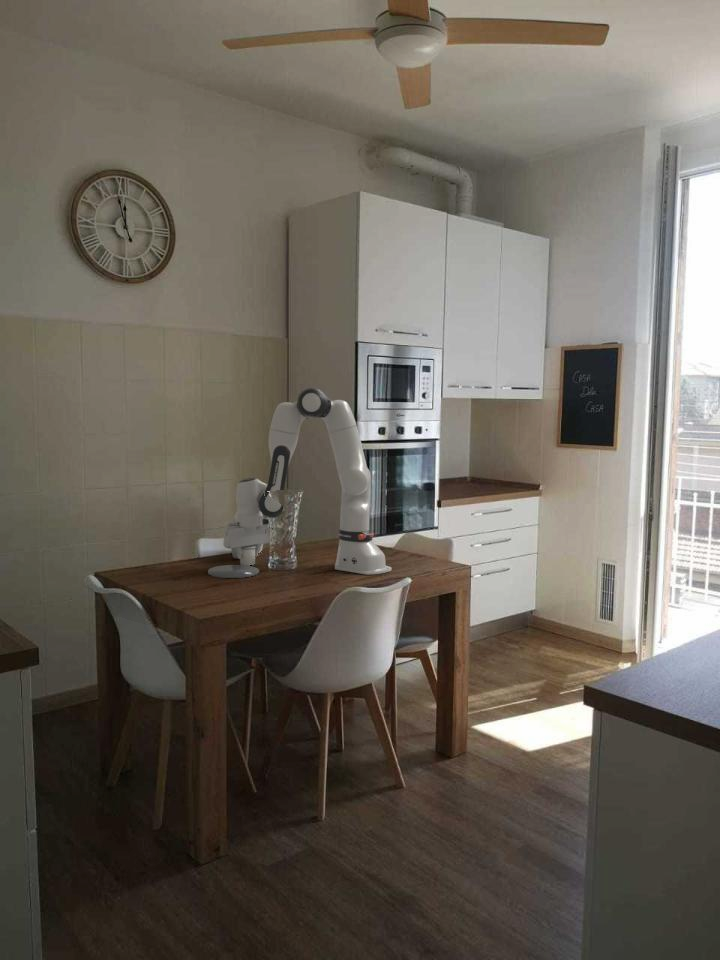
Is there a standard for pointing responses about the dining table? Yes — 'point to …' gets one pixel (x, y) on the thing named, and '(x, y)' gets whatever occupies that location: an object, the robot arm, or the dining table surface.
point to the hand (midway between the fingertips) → (247, 557)
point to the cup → (248, 555)
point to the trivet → (233, 571)
